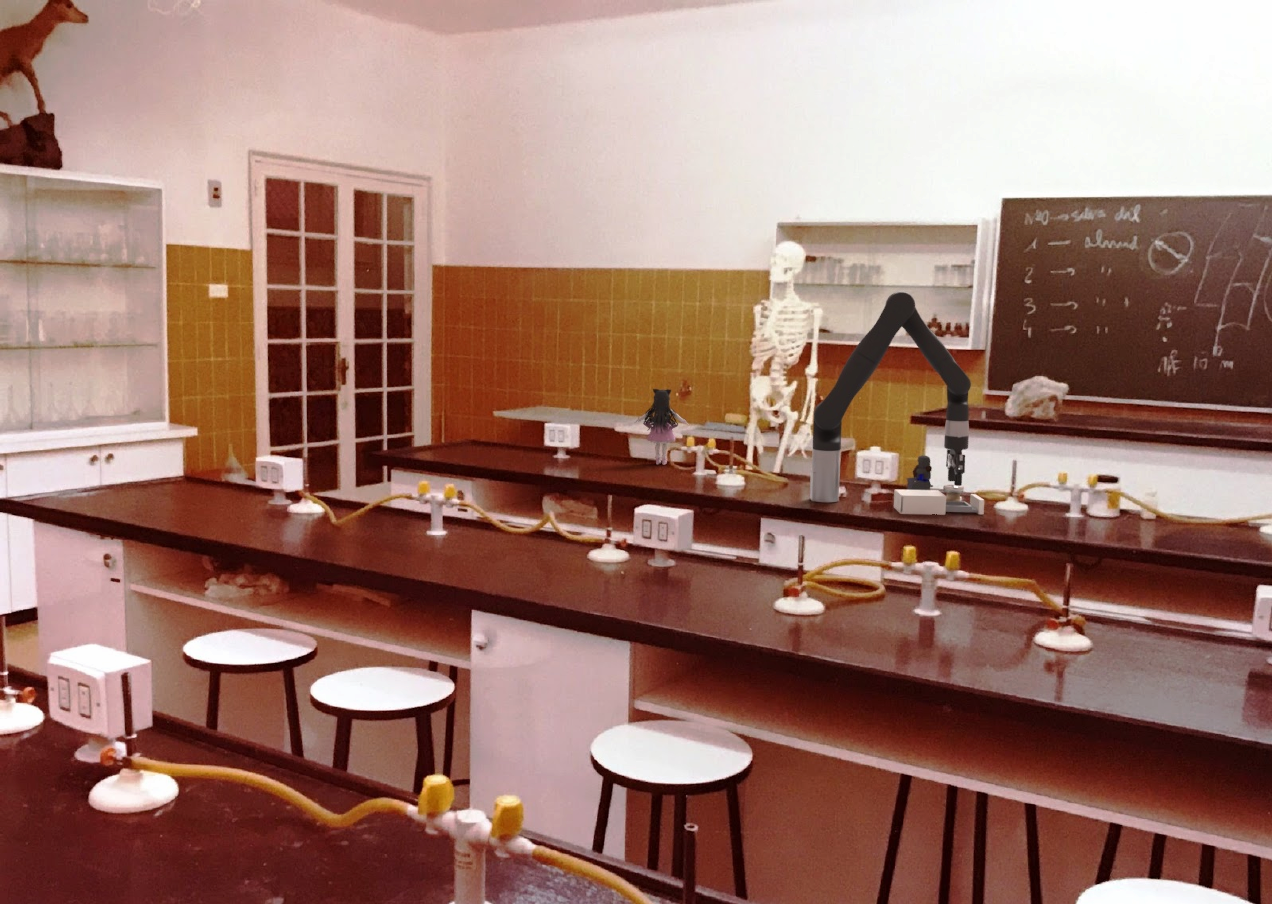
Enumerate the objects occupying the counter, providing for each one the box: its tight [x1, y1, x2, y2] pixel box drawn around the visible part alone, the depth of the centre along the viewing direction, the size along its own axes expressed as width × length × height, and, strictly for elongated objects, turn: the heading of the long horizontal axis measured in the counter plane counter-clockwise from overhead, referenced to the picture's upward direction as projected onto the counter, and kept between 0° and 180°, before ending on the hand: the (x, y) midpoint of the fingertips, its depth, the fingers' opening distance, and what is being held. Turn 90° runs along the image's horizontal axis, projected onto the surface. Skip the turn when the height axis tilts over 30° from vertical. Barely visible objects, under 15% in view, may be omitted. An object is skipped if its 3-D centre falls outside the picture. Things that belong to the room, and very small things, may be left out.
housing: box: [893, 489, 946, 516], centre depth 364 cm, size 14×11×6 cm
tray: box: [945, 493, 985, 515], centre depth 364 cm, size 16×11×5 cm, turn 89°
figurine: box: [633, 388, 690, 466], centre depth 452 cm, size 22×10×30 cm, turn 77°
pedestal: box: [945, 492, 961, 501], centre depth 373 cm, size 4×4×5 cm
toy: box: [905, 455, 934, 490], centre depth 384 cm, size 11×10×15 cm
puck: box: [942, 484, 965, 494], centre depth 373 cm, size 6×6×2 cm
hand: (954, 483), depth 372 cm, fingers open, 8 cm apart
